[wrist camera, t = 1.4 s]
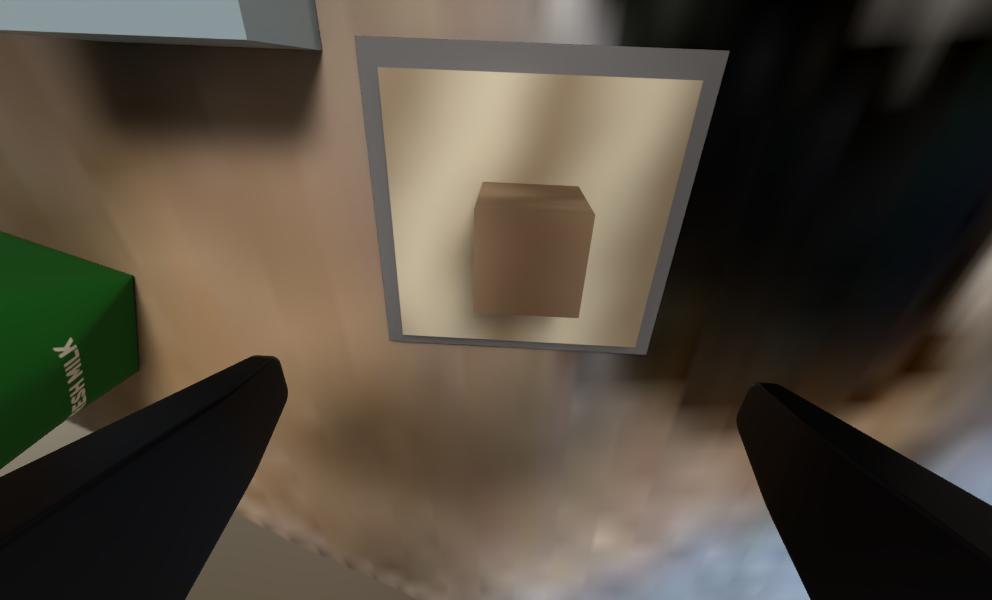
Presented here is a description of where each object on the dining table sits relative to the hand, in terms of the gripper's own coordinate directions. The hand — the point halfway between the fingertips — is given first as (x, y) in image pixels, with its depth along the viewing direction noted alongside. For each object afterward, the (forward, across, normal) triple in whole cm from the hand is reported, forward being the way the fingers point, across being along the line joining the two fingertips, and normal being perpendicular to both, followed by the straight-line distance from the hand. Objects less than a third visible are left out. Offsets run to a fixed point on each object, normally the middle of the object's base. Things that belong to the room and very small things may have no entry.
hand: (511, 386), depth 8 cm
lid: (+12, -1, +1) cm, 12 cm away
